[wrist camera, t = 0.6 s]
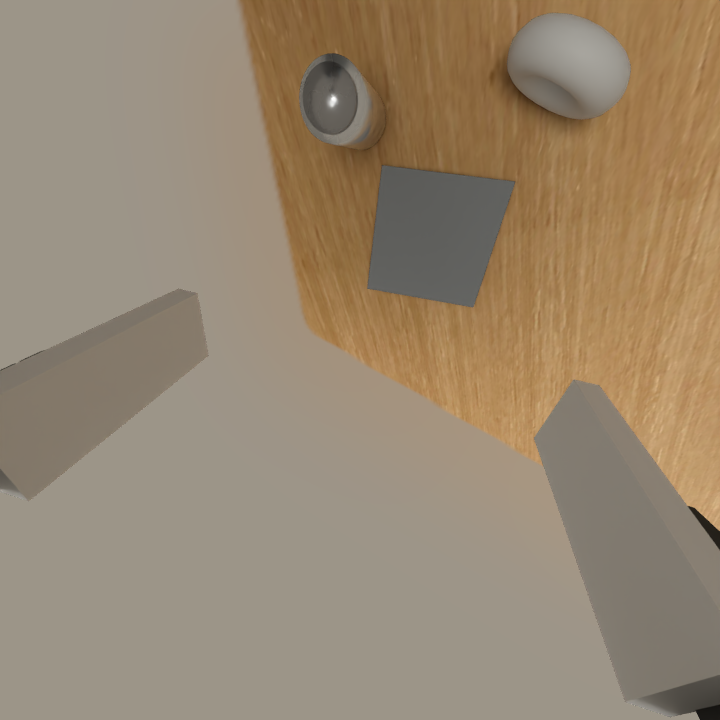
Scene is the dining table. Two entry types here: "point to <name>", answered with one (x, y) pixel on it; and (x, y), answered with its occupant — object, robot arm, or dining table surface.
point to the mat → (435, 233)
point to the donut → (568, 65)
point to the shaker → (341, 104)
